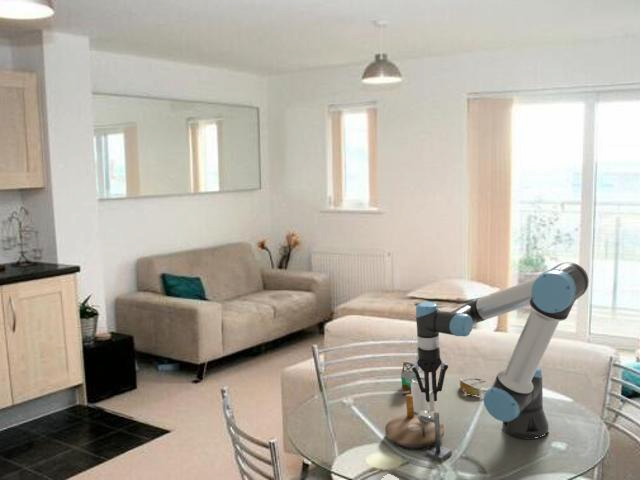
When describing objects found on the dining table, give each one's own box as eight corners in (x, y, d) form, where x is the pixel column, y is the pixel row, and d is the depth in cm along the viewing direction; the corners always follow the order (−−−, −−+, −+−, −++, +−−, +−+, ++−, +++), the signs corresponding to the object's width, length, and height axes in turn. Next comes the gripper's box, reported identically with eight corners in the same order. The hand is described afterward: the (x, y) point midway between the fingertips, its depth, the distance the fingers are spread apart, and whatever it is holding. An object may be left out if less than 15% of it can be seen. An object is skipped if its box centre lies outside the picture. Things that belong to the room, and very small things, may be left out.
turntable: (455, 428, 223) (454, 402, 221) (421, 452, 209) (420, 424, 207) (408, 413, 237) (406, 389, 235) (373, 435, 223) (371, 409, 221)
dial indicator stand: (451, 454, 211) (449, 412, 208) (441, 462, 206) (439, 419, 204) (425, 445, 218) (423, 405, 215) (415, 452, 214) (412, 411, 211)
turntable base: (447, 435, 223) (447, 429, 223) (420, 454, 212) (420, 448, 212) (410, 423, 234) (409, 417, 234) (382, 441, 223) (381, 435, 223)
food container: (418, 396, 256) (416, 372, 255) (402, 396, 258) (400, 372, 256) (419, 384, 268) (418, 361, 266) (404, 384, 269) (403, 361, 268)
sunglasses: (452, 388, 262) (453, 376, 261) (482, 385, 268) (483, 373, 267) (474, 401, 249) (475, 388, 248) (505, 397, 255) (506, 384, 254)
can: (409, 408, 246) (407, 379, 244) (424, 405, 248) (423, 375, 246) (416, 415, 240) (415, 385, 238) (432, 412, 242) (431, 381, 240)
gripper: (444, 341, 230) (447, 403, 234) (408, 344, 230) (411, 406, 234) (449, 348, 223) (452, 412, 227) (411, 351, 223) (415, 415, 227)
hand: (431, 409), depth 231 cm, fingers closed
